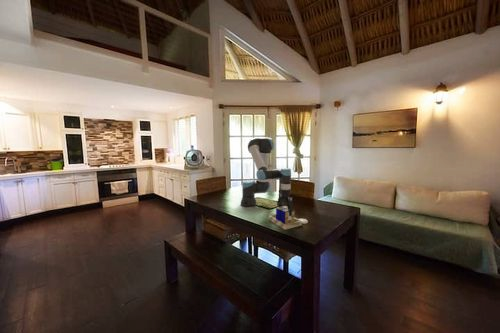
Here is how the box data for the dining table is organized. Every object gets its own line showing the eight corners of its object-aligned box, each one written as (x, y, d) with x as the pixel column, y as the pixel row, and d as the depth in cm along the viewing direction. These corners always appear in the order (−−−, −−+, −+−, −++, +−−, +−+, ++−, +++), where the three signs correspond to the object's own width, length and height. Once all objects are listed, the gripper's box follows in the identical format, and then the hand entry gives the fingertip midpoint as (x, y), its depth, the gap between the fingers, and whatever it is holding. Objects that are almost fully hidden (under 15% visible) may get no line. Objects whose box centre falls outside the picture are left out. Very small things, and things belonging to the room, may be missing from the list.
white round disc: (294, 220, 162) (294, 219, 162) (302, 218, 165) (302, 218, 165) (301, 224, 155) (301, 223, 155) (310, 222, 158) (310, 221, 158)
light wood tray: (268, 219, 164) (268, 215, 164) (284, 216, 171) (284, 212, 171) (284, 229, 146) (284, 225, 146) (301, 225, 153) (301, 221, 153)
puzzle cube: (275, 220, 160) (275, 208, 158) (285, 217, 165) (285, 205, 164) (284, 225, 152) (285, 211, 150) (294, 222, 157) (294, 209, 156)
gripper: (272, 186, 163) (272, 213, 166) (291, 192, 143) (290, 223, 146) (280, 185, 167) (280, 212, 170) (299, 191, 147) (298, 221, 149)
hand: (284, 217), depth 158 cm, fingers open, 10 cm apart
